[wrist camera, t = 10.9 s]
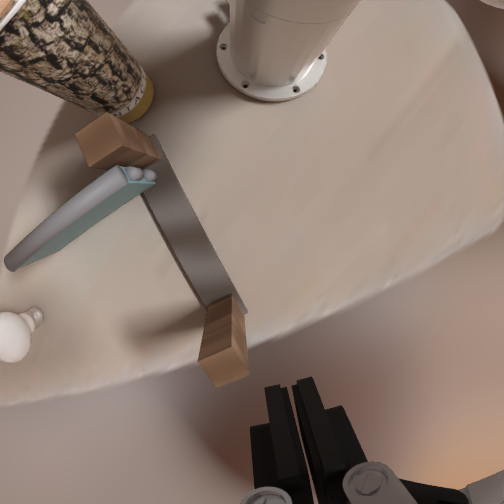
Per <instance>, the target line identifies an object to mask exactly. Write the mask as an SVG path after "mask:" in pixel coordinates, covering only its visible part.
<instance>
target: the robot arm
mask: <svg viewBox="0 0 504 504" xmlns="http://www.w3.org/2000/svg"><path fill="white" fill-rule="evenodd" d="M359 1H360V0H227V2H228V3H229V5H230V23H229V24H228V25H227V26H226V27H225V28H224V29H223V31H222V33H221V34H220V36H219V39H218V42H217V50H216V55H217V62H218V65H219V68H220V70H221V72H222V74H223V76H224V77H225V79H226V80H227V81H228V82H229V83H230V84H231V85H232V86H233V87H234V88H236V89H237V90H238V91H240V92H242V93H244V94H245V95H247V96H250V97H253V98H255V99H258V100H264V101H278V102H280V101H287V100H292V99H295V98H298V97H300V96H302V95H304V94H306V93H307V92H309V91H310V90H311V89H312V88H313V87H315V86H316V84H317V83H318V82H319V81H320V79H321V78H322V76H323V74H324V72H325V69H326V65H327V52H326V46H327V45H328V44H329V42H330V41H331V39H332V38H333V37H334V35H335V34H336V32H337V31H338V30H339V28H340V27H341V26H342V24H343V23H344V21H345V20H346V19H347V17H348V16H349V15H350V13H351V12H352V11H353V9H354V8H355V7H356V6H357V4H358V3H359ZM480 1H482V2H484V3H486V4H489V5H491V6H494V7H497V8H502V9H504V0H480ZM223 48H225V49H226V50H222V49H223ZM318 58H320V59H321V60H320V59H318ZM244 85H246V86H247V88H244V87H243V86H244ZM293 90H296V91H297V93H295V92H293ZM292 391H293V396H294V401H295V406H296V412H297V417H298V422H299V427H300V432H301V437H302V441H303V445H304V449H305V453H306V457H307V461H308V464H309V468H310V472H311V476H312V480H313V484H314V487H315V491H316V495H317V499H318V503H319V504H504V470H502V471H500V472H498V473H496V474H493V475H491V476H489V477H486V478H484V479H481V480H479V481H476V482H474V483H471V484H468V485H467V486H466V488H463V489H460V490H456V489H450V488H444V487H437V486H432V485H427V484H421V483H416V482H411V481H407V480H403V479H399V478H397V476H396V475H395V474H394V473H393V471H392V470H391V469H390V468H389V467H388V466H387V465H385V464H382V463H380V462H374V461H372V462H368V461H367V459H366V457H365V454H364V452H363V450H362V448H361V445H360V443H359V441H358V439H357V437H356V434H355V433H354V430H353V428H352V426H351V423H350V421H349V419H348V417H347V415H346V413H345V410H344V408H343V407H342V406H337V407H334V408H330V409H326V410H325V409H324V406H323V404H322V401H321V398H320V396H319V393H318V391H317V388H316V385H315V383H314V380H313V378H312V377H308V378H305V379H300V380H297V384H296V385H292ZM265 395H266V401H267V408H268V414H269V421H270V423H267V424H262V425H256V426H251V427H250V436H251V450H252V463H253V475H254V487H255V490H253V491H251V492H249V493H248V494H247V495H246V496H245V497H244V498H243V499H242V500H241V503H240V504H314V501H313V496H312V490H311V485H310V479H309V474H308V470H307V466H306V461H305V457H304V453H303V449H302V446H301V442H300V438H299V434H298V430H297V426H296V422H295V418H294V414H293V410H292V406H291V402H290V398H289V394H288V390H287V387H284V388H280V385H274V386H269V387H265Z"/></svg>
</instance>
